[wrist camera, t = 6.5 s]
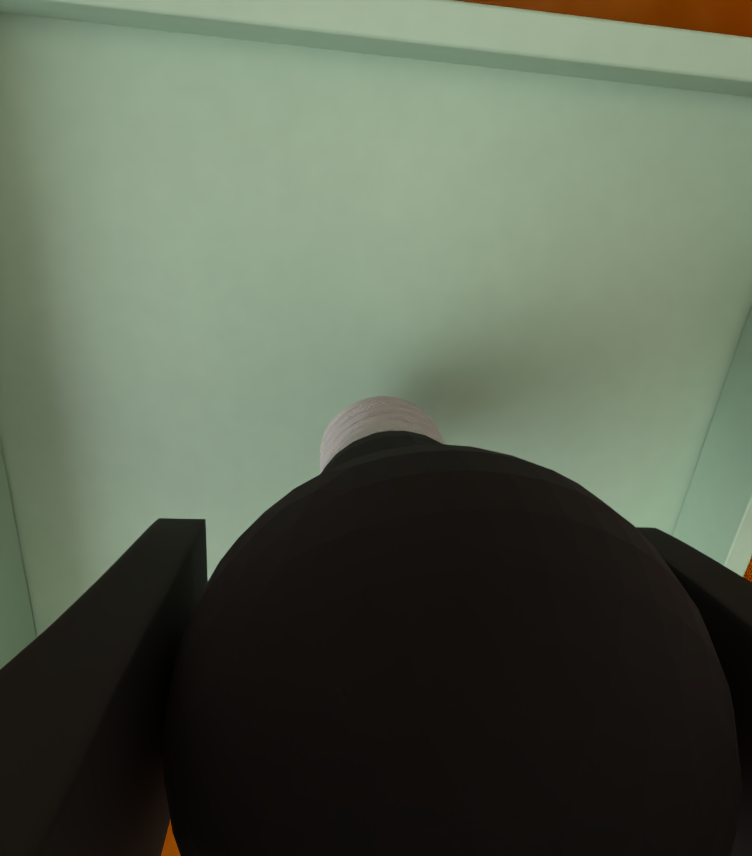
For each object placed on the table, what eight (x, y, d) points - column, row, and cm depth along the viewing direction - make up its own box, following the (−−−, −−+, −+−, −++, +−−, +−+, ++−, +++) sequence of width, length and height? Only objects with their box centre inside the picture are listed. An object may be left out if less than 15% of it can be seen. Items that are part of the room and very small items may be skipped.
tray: (27, 659, 17) (-17, 741, 14) (-110, -39, 10) (-227, -87, 8) (637, 653, 19) (682, 725, 16) (840, 74, 12) (957, 62, 10)
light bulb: (186, 361, 12) (-144, 984, 3) (467, 251, 12) (957, 620, 3) (303, 578, 15) (297, 1264, 6) (539, 493, 14) (918, 1091, 5)
